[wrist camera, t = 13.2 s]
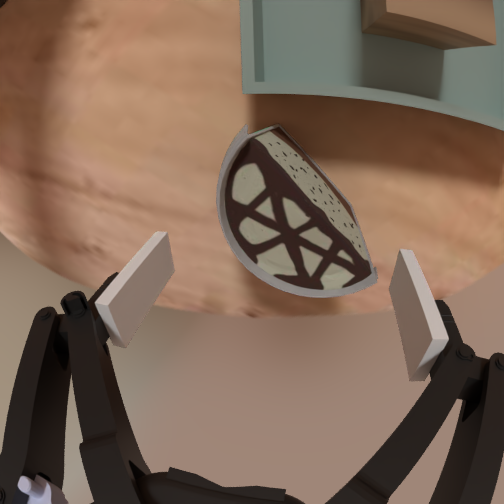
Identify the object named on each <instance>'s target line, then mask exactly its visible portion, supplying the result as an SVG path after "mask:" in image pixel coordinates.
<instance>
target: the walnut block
mask: <svg viewBox="0 0 504 504" xmlns="http://www.w3.org/2000/svg"><path fill="white" fill-rule="evenodd" d="M360 5H361V28H362V33H366V34H373V35H379V36H385V37H391V38H396V39H401V40H406V41H410V42H415V43H419V44H423V45H427V46H431V47H435V48H438V49H442V50H450V49H458V48H467V47H478V46H493V45H496V28H495V17H494V8H493V0H360Z"/></svg>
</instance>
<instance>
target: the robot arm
mask: <svg viewBox="0 0 504 504" xmlns="http://www.w3.org/2000/svg"><path fill="white" fill-rule="evenodd" d="M5 2H6V0H0V7H1V6H2V5H3V4H4V3H5ZM174 271H175V269H174V264H173V259H172V254H171V248H170V243H169V237H168V232H157V231H156V232H155V233H154V235H153V236H152V237H151V238H150V239H149V240H148V241H147V242H146V243H145V244H144V246H143V247H142V248H141V249H140V250H139V251H138V252H137V253H136V254H135V256H134V257H133V258H132V259H131V260H130V261H129V262H128V264H127V265H126V266H125V267H124V268H123V269H122V271H121V272H120V273H118V272H116V273H114V274H113V275H111V276H110V277H108V278H107V280H106V281H105V282H104V283H103V285H101V287H100V288H99V289H98V290H97V291H96V292H95V294H94V295H93V296H92V297H91V298H90V300H89V301H88V302H87V299H86V297H85V295H84V293H83V292H81V291H74V292H71V293H68V294H67V295H66V296H64V297H63V299H62V300H61V306H62V308H63V310H64V312H65V314H57V312H56V310H55V309H54V308H53V307H45V308H42V309H41V310H40V311H38V313H37V314H36V316H35V318H34V320H33V323H32V326H31V329H30V332H29V335H28V338H27V341H26V344H25V347H24V350H23V354H22V357H21V361H20V364H19V368H18V371H17V375H16V379H15V383H14V387H13V391H12V396H11V400H10V405H9V410H8V415H7V421H6V427H5V433H4V440H3V447H2V452H1V454H0V504H68V501H67V500H66V499H65V495H64V494H63V492H62V486H63V479H64V449H65V429H66V428H65V427H66V415H67V404H68V394H69V386H70V379H71V374H72V381H73V388H74V395H75V401H76V407H77V412H78V418H79V422H80V427H81V432H82V436H83V442H82V443H80V446H79V449H80V454H81V458H82V462H83V466H84V470H85V473H86V476H87V480H88V484H89V487H90V490H91V493H92V496H93V499H94V502H93V503H91V504H305V503H304V502H302V501H300V500H299V499H297V498H295V497H293V496H290V495H287V494H285V492H286V489H278V488H269V487H261V486H246V487H222V486H220V485H218V484H215V483H213V482H211V481H209V480H207V479H205V478H203V477H201V476H199V475H197V474H194V473H190V472H186V471H182V470H179V469H175V468H172V467H170V468H169V471H168V472H158V473H151V471H150V469H149V468H148V466H147V465H146V463H145V461H144V460H143V457H142V455H141V452H140V450H139V447H138V444H137V442H136V439H135V436H134V434H133V431H132V428H131V425H130V422H129V419H128V416H127V413H126V410H125V407H124V404H123V400H122V397H121V394H120V390H119V387H118V384H117V380H116V376H115V372H114V369H113V365H112V361H111V357H110V353H109V348H108V345H107V343H106V341H107V340H108V338H109V337H110V339H111V341H112V343H113V345H116V346H119V347H123V348H126V347H127V345H128V344H129V342H130V341H131V339H132V337H133V336H134V334H135V333H136V331H137V329H138V328H139V326H140V324H141V323H142V321H143V320H144V318H145V316H146V315H147V313H148V312H149V310H150V309H151V307H152V305H153V304H154V302H155V301H156V299H157V298H158V296H159V294H160V293H161V291H162V290H163V288H164V287H165V285H166V284H167V282H168V281H169V279H170V278H171V276H172V274H173V273H174ZM389 291H390V295H391V299H392V303H393V306H394V310H395V314H396V319H397V323H398V327H399V331H400V336H401V339H402V345H403V350H404V354H405V359H406V364H407V370H408V375H409V381H425V379H426V377H427V376H428V374H429V373H430V377H431V381H430V383H429V384H428V386H427V387H426V389H425V390H424V392H423V393H422V395H421V396H420V397H419V399H418V400H417V402H416V403H415V405H414V406H413V407H412V409H411V410H410V411H409V413H408V414H407V416H406V417H405V418H404V419H403V421H402V422H401V423H400V425H399V426H398V427H397V428H396V430H395V431H394V432H393V433H392V435H391V436H390V437H389V438H388V439H387V441H386V442H385V443H384V444H383V445H382V446H381V448H380V449H379V450H378V451H377V452H376V453H375V455H374V456H373V457H372V458H371V459H370V460H369V461H368V462H367V463H366V464H365V465H364V466H363V467H362V469H361V470H360V471H359V472H358V473H357V474H356V475H355V476H354V477H353V478H352V479H351V480H350V481H349V482H348V483H347V484H346V485H345V486H344V487H343V488H342V489H340V490H339V492H338V493H336V494H335V495H334V496H333V497H332V498H331V499H330V500H328V502H326V503H325V504H387V502H388V500H389V497H390V496H391V494H392V493H393V492H394V491H395V490H396V489H397V487H398V486H399V485H400V484H401V483H402V481H403V480H404V479H405V478H406V476H407V475H408V474H409V472H410V471H411V470H412V468H413V467H414V466H415V464H416V463H417V462H418V460H419V459H420V457H421V456H422V455H423V453H424V452H425V450H426V448H427V447H428V446H429V444H430V443H431V441H432V440H433V438H434V437H435V435H436V434H437V432H438V430H439V429H440V427H441V426H442V424H443V422H444V421H445V419H446V417H447V416H448V414H449V412H450V410H451V408H452V407H453V405H454V403H455V401H456V399H462V400H463V401H462V406H461V410H460V414H459V418H458V422H457V426H456V430H455V433H454V436H453V440H452V443H451V446H450V449H449V453H448V456H447V459H446V461H445V465H444V467H443V470H442V473H441V475H440V478H439V481H438V483H437V486H436V488H435V491H434V493H433V495H432V497H431V500H430V502H429V504H490V503H491V500H492V497H493V493H494V490H495V486H496V483H497V479H498V475H499V471H500V467H501V462H502V457H503V453H504V354H502V353H494V354H493V355H492V356H491V357H490V359H485V358H480V357H477V356H476V355H475V352H474V351H473V349H472V348H471V347H470V346H468V345H466V344H464V343H463V341H462V338H461V336H460V333H459V331H458V328H457V326H456V323H455V321H454V318H453V316H452V314H451V311H450V309H449V307H448V306H447V305H446V304H445V302H444V301H443V300H434V298H433V296H432V293H431V291H430V288H429V286H428V284H427V282H426V279H425V277H424V275H423V272H422V270H421V268H420V266H419V264H418V262H417V259H416V257H415V255H414V253H413V251H412V250H406V249H399V254H398V258H397V261H396V265H395V269H394V273H393V276H392V280H391V284H390V287H389Z"/></svg>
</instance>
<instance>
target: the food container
mask: <svg viewBox="0 0 504 504" xmlns="http://www.w3.org/2000/svg"><path fill="white" fill-rule="evenodd" d="M247 131H248V125H247V124H246V125H245V126H244V127H243V128H242V129H241V131H240V132H239V133H238V134H237V135H236V137H235V138H234V140H233V141H232V143H231V145H230V146H229V148H228V150H227V152H226V155H225V157H224V160H223V163H222V165H221V170H220V174H219V179H218V184H217V197H216V204H217V211H218V218H219V221H220V224H221V227H222V231H223V233H224V236H225V238H226V240H227V242H228V244H229V246H230V248H231V250H232V251H233V252H234V254H235V255H236V257H237V258H238V260H239V261H240V262H241V263H242V264H243V265H244V266H245V267H246V268H247V269H248V270H249V271H250V272H251V273H253V274H254V275H255V276H257V277H258V278H259V279H261V280H262V281H264V282H266V283H267V284H269V285H271V286H273V287H275V288H277V289H280V290H282V291H284V292H288V293H291V294H295V295H299V296H305V297H314V298H329V297H339V296H343V295H348V294H352V293H355V292H358V291H360V290H363V289H366V288H368V287H370V286H372V285H373V284H375V283H377V279H378V275H377V268H376V267H375V268H373V265H372V262H371V259H370V255H369V252H368V249H367V246H366V243H365V240H364V238H363V235H362V232H361V229H360V226H359V223H358V221H357V218H356V215H355V212H354V210H353V207H352V205H351V203H350V202H349V201H348V200H347V199H346V197H345V196H344V195H343V194H342V193H341V191H340V190H339V189H338V188H337V187H336V186H335V184H334V183H333V182H332V181H331V180H330V179H329V177H328V176H327V175H326V174H325V173H324V172H323V171H322V169H321V168H320V167H319V166H318V165H317V164H316V163H315V162H314V161H313V159H312V158H311V157H310V156H309V155H308V154H307V153H306V152H305V151H304V150H303V149H302V147H301V146H300V145H299V144H298V143H297V142H296V141H295V140H294V139H293V138H292V137H291V136H290V135H289V134H288V133H287V132H286V131H285V130H284V129H283V128H282V127H281V126H280V124H276V125H273V126H270V127H268V128H265V129H262V130H260V131H257V132H254V133H252V134H248V133H247Z"/></svg>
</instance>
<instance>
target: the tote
mask: <svg viewBox="0 0 504 504" xmlns="http://www.w3.org/2000/svg"><path fill="white" fill-rule="evenodd" d="M493 8H494V17H495V28H496V45H493V46H478V47H467V48H458V49H450V50H442V49H438V48H435V47H431V46H427V45H423V44H419V43H415V42H410V41H406V40H401V39H396V38H391V37H385V36H379V35H373V34H366V33H362V28H361V5H360V0H240V28H241V60H242V90H243V94H305V95H323V96H336V97H347V98H356V99H365V100H372V101H380V102H387V103H393V104H399V105H405V106H410V107H416V108H421V109H425V110H430V111H435V112H439V113H444V114H448V115H452V116H456V117H460V118H463V119H467V120H471V121H474V122H478V123H481V124H484V125H488V126H491V127H494V128H497V129H500V130H503V131H504V0H493Z"/></svg>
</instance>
